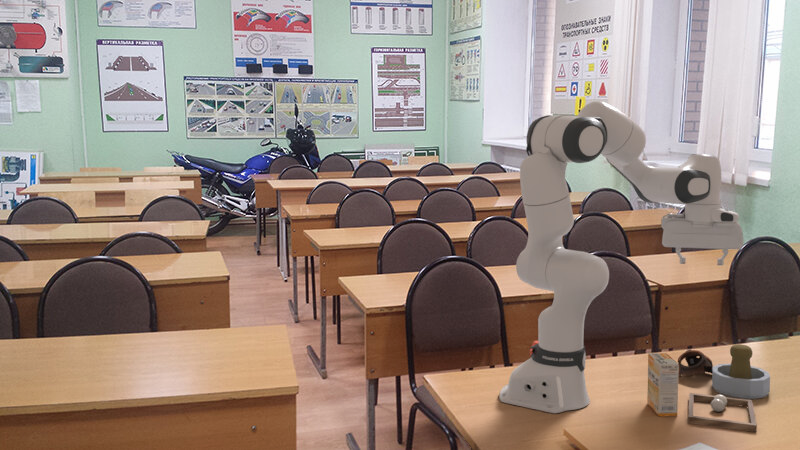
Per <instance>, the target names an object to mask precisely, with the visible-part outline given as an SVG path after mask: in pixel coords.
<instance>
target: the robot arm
mask: <svg viewBox="0 0 800 450" xmlns="http://www.w3.org/2000/svg"><path fill="white" fill-rule="evenodd" d="M646 139H647V138H646V133H645V131H644V130H643V129H642V127H641V126H640V125H639V124H638V123H637V122H636V121H634V120H633V119H632V118H631V117H630V116H629V115H627V114H625V113H624V112H622V110H619V109H618V108H616V107H615V106H612V105H611V104H608V102H607V103H606V102H604V101H601V100H595V101H591V102H589V103H587V104H586V105H584V106H583V108H581V109H580V111H579V112H578V114H577V115H576V116H575V115H568V114H557V115H556V114H555V115H550V114H547V115H544V116H540V117H538V118H536V119H535V120H533V121H532V123H531V124H530V125H529V126H528V128H527V134H526V150H525V151H526V154H527V157H525V158H524V159H523V160H522V162H521V164H520V166H519V179H520V180H519V181H520V184H519V185H520V191H521V198H522V204H523V208H524V211H525V218H526V223H527V229H528V231H527V233H528V235H527V243H526V246H525V247H524V249H523V250H522V251H521V252H520V254H519V255H518V257H517V258H516V263H515V265H516V266H515V268H516V269H515V271H516V274H517V276H518V278H519V280H521V281H522V282H524V283H525V284H527V285H529V286H531V287H533V288H536V289H540V290H545V291H550V292H553V295H554V296H553V301H552V304H551V305H550V306H548V307H546V308H545V309H543V310H542V311H541V313H539V316H538V319H537V322H538V323H537V324H538V325H537V327H538V336H537V337H538V339H537V340H534V341H533V342H532V344H531V347H530V350H529V355H530V358H528V359H527V360H525V361H524V362H521V364H519V365H518V366H516V367H515V368H514V369H513V370H512V372H511V374H510V376H509V379H508V380H509V381H508V384H505V385H504V386H503V387H502V388H501V390H500V392H499V396H498V397H499V401H500V402H502V403H505V404H508V405H509V404H510V405H513V406H514V405H515V406H518V407H519V406H520V407H523V408H527V409H532V410H536V411H541V412H546V413H550V414H558V413H559V414H560V413H562V412H566V411H573V410H579V409H582V408H585V407H587V406H588V405H589V404H590V403H591V401H590V397H589V395H588V389H587V385H586V378H585V368H586V359H587V358H586V347H585V345H584V329H585V318H586V315H587V311H588V308H589V306H590V305H591V303H592V302H593V300H594V299H595V298H596V297H599V295H601V294H602V293H603V292H604V291H605V290H606V288H607V286H608V284H609V280H610V269H609V267H608V264H607V262H606V261H605V260H604V259H603V258H601V257H600V256H597V255H595V254H593V253H589V252H586V251H582V250H574V249H566V248H565V247H564V244H563V237H564V236H566V234H568V233H569V232H570V231H571V230H572V228H573V226H574V223H575V218H574V213H573V207H572V203H571V195H570V192H569V187H568V183H567V180H566V170H567V166H568V163H575V164H584V163H589V162H592V161H595V160H596V159H597V158H598V157H599V156H600V155H602V156H603V157H604V158H605V159H606V161H607V162H608V164H610V166H611V167H612V168H614V169H615V171H617V173H619V174H620V175H621V176H622V177H623V178H624V179H625V180H627V181H628V182H629V183H630V185H631V186H632V188H633V189H634V191H635V192H636V194H637V196H638V197H639V198H640V200H641V201H643V202H645V203H648V204H651V203H652V204H656V203H657V204H659V203H662V204H676V205H684V213H667V214H666V215H664V216H662V217H661V221H660V224H661V226H660V227H661V228H662V231H663V232H662V239H661V244H662V246H663V247H665V248H675V253H676V255H677V256H678V258H679V264H680V265H685V264H686V259H687V258H686V256H683V255H682V253H681V251H682V249H683V248H684V249H686V248H687V249H712V250H714V249H717V250H722V251H721V252H722V255H721V257H717V263H716V264H717V266H722V267H723V266H724V260H725V258H726V257H727V256H728V254H729V250H741V249H742V248H743V247H744V234H743V230H742V229H743V228H742V226H741V225H740V223H739V220H740V219H739V218H740V216H739V213H737V212H735V211H732V210H729V209H727V208H722V207H721V206H722V204H721V203H722V202H721V197H720V192H721V190H722V167H721V166H722V165H721V163H720V159H719V157H717V156H716V155H711V154H709V153H708V154H705V153H692V154H690V155H689V156H688V158H687V160H686V161H684V163H682V164H681V165H678V166H677V167H664V166H663V167H662V166H661V167H660V166H653V165H647V164H645V162H643V160H642V159H641V158H640V156H641V155H642V153H643V152H644V149H645V148H646V141H647V140H646Z"/></svg>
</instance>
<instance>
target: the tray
mask: <svg viewBox="0 0 800 450" xmlns="http://www.w3.org/2000/svg"><path fill="white" fill-rule="evenodd" d="M688 395H689V396H688V397H689V399H688V422H689V423H688V422H687V423H688V424H692V423H694V424H695V425H701V426H708V427H715V428H724V429H731V430H740V431H746V432H753V431H755V432H754V433H757V428H758V425H757V419H756V415H755V410H754V405H753V399H742V398H735V397H730V396H725V397H726V399H727V404H726V406H729V405H730V406H738V407H740V406H739V405H742V406H741V407H744V406H747V407H748V408H747V407H746V408H747V414H748V413H749V414H748V419H750V420H749V422H746V421H745V422H744V421H738V420H729V419H722V418H716V417H715V418H713V417H707V416H706V417H705V416H697V415H694V402H702V403H710V404H711V402H712V400H714V397H715V396H716V395H710V394H703V393H693V392H688ZM694 424H693V425H694Z"/></svg>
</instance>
